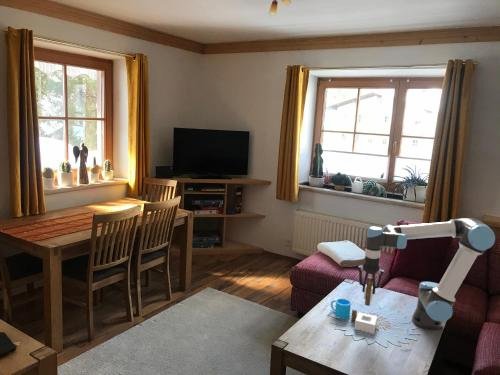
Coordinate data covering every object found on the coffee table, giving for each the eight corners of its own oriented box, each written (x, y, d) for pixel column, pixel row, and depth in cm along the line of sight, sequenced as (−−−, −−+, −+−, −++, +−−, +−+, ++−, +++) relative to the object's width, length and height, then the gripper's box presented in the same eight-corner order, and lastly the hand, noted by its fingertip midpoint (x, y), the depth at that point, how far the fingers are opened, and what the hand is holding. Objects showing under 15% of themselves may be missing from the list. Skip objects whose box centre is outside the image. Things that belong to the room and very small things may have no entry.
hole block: (376, 325, 217) (377, 316, 217) (374, 333, 208) (374, 324, 208) (357, 320, 221) (358, 312, 221) (354, 329, 212) (355, 320, 212)
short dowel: (356, 320, 222) (357, 310, 221) (355, 322, 220) (356, 312, 219) (351, 319, 223) (352, 309, 222) (350, 321, 221) (351, 311, 220)
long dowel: (370, 304, 213) (372, 277, 211) (369, 306, 211) (372, 279, 208) (365, 303, 214) (367, 276, 212) (364, 305, 212) (367, 278, 209)
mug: (352, 315, 227) (353, 302, 226) (344, 320, 221) (346, 306, 220) (334, 308, 235) (335, 295, 234) (326, 312, 229) (327, 299, 228)
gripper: (388, 257, 208) (384, 299, 212) (358, 251, 214) (354, 292, 218) (387, 261, 201) (382, 304, 206) (355, 255, 207) (351, 298, 212)
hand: (367, 298), depth 212 cm, fingers closed on long dowel, 2 cm apart
